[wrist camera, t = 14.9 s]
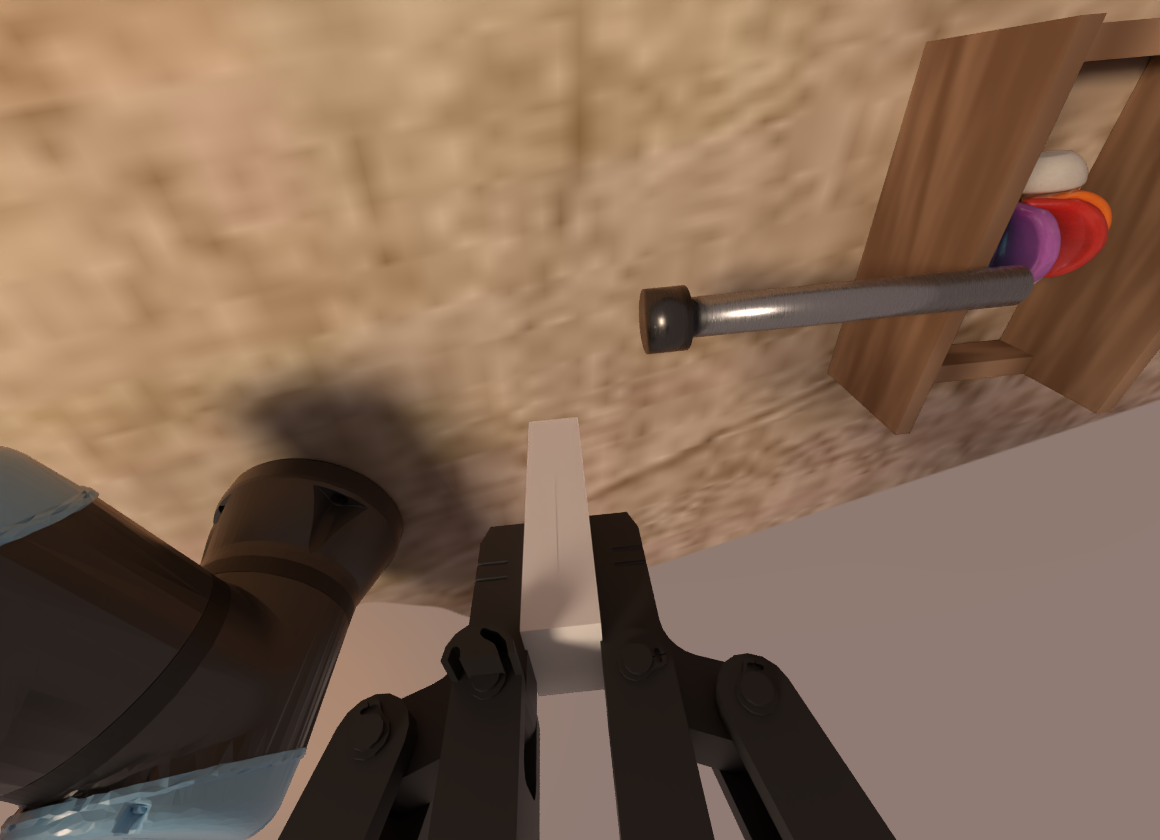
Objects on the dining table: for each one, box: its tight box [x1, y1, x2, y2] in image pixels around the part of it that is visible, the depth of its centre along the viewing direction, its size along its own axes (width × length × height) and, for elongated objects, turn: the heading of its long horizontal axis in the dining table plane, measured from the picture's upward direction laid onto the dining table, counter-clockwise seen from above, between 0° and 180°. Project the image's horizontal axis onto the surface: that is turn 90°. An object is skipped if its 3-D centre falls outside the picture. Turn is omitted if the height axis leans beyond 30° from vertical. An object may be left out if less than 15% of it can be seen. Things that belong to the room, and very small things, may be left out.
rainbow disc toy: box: [987, 150, 1112, 285], centre depth 27 cm, size 8×10×7 cm
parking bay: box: [828, 13, 1160, 435], centre depth 27 cm, size 15×21×8 cm
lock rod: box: [639, 265, 1034, 354], centre depth 22 cm, size 19×3×3 cm, turn 94°
